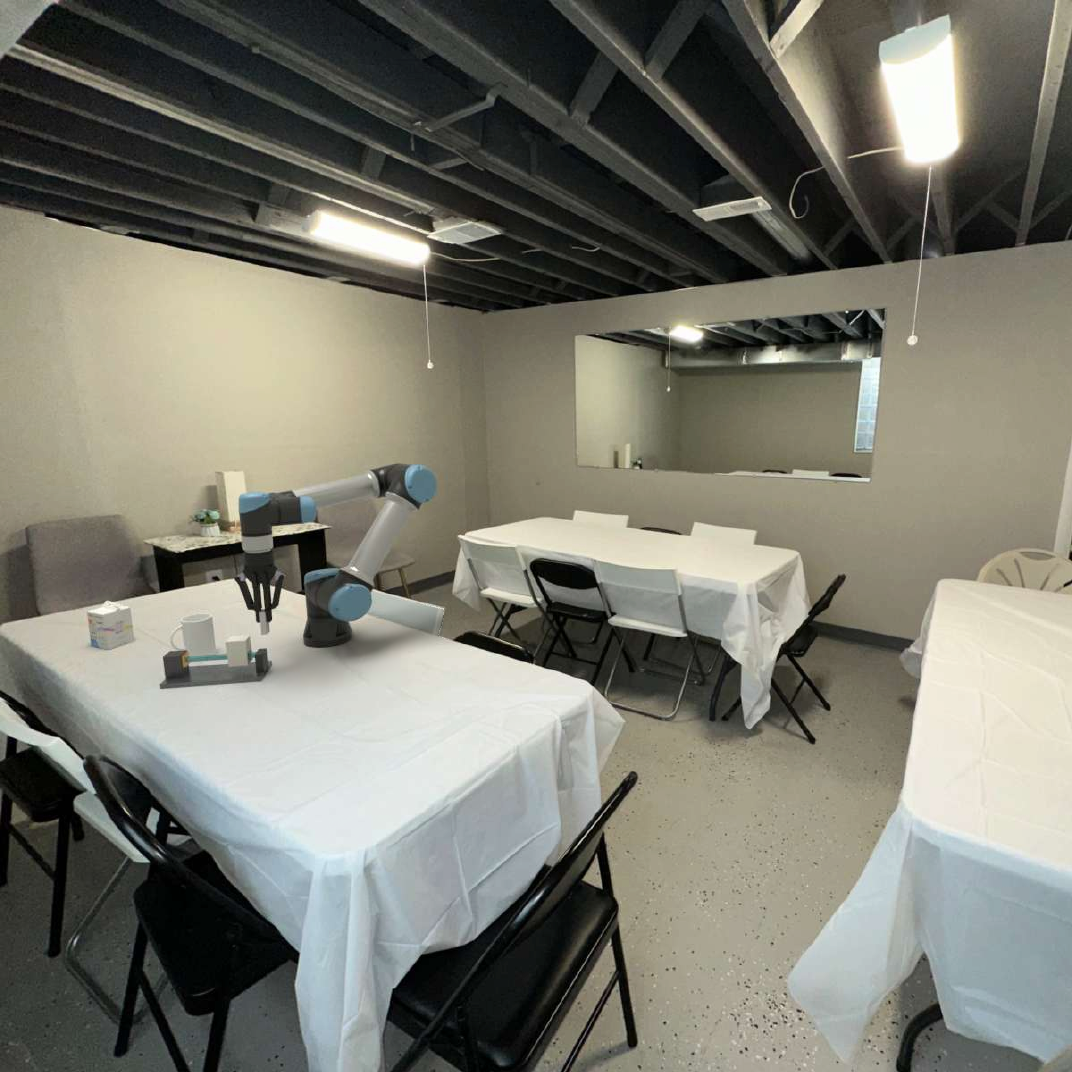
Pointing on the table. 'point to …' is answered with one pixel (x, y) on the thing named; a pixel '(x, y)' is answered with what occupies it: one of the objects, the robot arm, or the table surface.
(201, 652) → the mug
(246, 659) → the sleeve
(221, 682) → the glowing rod on plate
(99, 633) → the ink box
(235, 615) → the table surface
